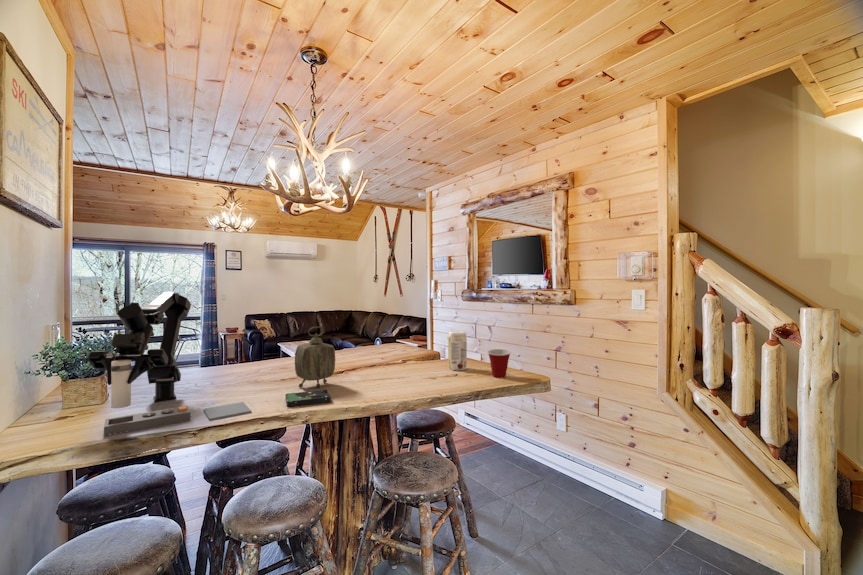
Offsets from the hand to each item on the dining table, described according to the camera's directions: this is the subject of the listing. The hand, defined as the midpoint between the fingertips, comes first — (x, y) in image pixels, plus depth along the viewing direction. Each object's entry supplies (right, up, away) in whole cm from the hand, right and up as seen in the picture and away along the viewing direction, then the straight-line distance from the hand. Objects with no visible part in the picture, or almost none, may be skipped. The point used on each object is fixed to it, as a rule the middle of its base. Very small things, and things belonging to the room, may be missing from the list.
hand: (118, 383), depth 106 cm
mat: (+22, -14, +17) cm, 31 cm away
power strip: (+5, -13, +5) cm, 15 cm away
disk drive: (+44, -14, +29) cm, 55 cm away
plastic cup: (+121, -14, +68) cm, 139 cm away
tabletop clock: (+41, -14, +48) cm, 65 cm away
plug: (0, -7, 0) cm, 7 cm away
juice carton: (+102, -14, +83) cm, 133 cm away
